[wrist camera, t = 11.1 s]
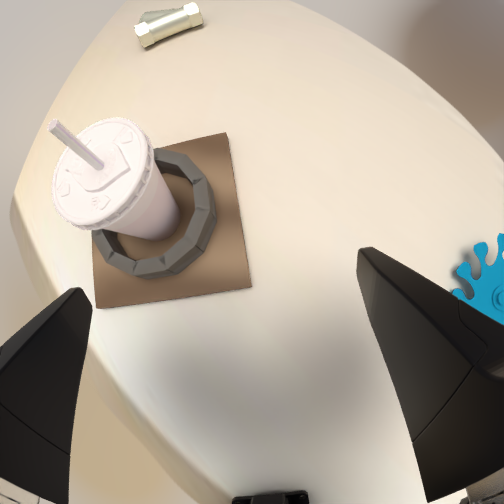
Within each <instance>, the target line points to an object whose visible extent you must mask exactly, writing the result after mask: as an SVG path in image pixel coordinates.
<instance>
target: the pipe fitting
mask: <svg viewBox="0 0 504 504" xmlns="http://www.w3.org/2000/svg"><path fill="white" fill-rule="evenodd" d="M201 24H203V19H202V16H201V13H200V11H199V8H198V7H197V5H196V4H195V3H194V2H193V3H190V4H187V5H184V6H183V7H182V8H179V9H169V10H159V11H150V12H145V13H144V14H143V15H142V16H141V18H140V21H139V25H136V26H135V27H134V28H135V31H136V33H137V36H138V38H139V40H140V42H141V44H142V46H143V48H145V47H147V46H149V45H151V44H154V43H155V42H157V41H159V40H161V39H164V38H166V37H168V36H171V35H173V34H176V33H178V32H181V31H183V30H186V29H188V28H192V27H195V26H198V25H201Z"/></svg>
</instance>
